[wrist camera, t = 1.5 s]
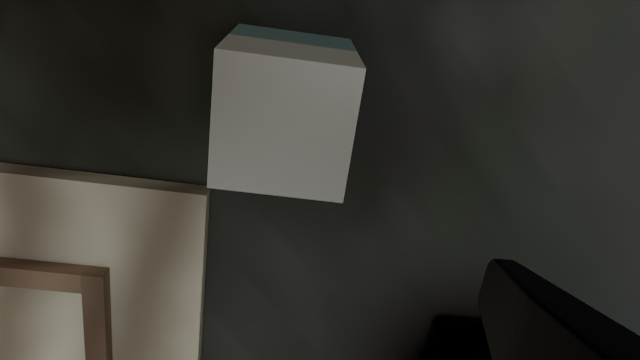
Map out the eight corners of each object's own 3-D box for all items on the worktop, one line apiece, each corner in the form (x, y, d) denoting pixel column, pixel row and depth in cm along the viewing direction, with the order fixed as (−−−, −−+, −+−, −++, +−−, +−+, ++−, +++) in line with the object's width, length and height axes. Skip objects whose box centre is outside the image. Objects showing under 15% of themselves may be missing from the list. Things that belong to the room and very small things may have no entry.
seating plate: (210, 186, 23) (203, 203, 21) (195, 459, 30) (188, 488, 28) (-216, 137, 22) (-259, 152, 20) (-126, 436, 29) (-152, 465, 27)
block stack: (350, 38, 21) (366, 68, 15) (333, 142, 22) (342, 203, 17) (239, 23, 20) (214, 48, 15) (231, 130, 22) (206, 187, 16)
